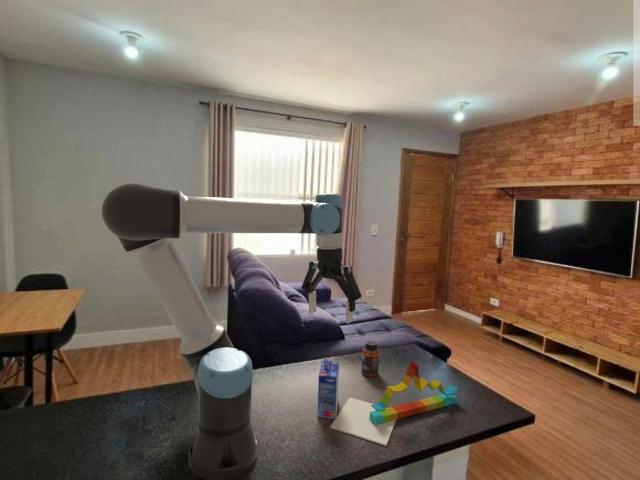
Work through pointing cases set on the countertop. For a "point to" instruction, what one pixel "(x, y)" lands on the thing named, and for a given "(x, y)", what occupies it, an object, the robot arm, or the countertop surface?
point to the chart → (413, 407)
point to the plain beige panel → (362, 422)
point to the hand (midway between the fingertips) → (330, 317)
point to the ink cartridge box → (328, 389)
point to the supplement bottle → (370, 359)
